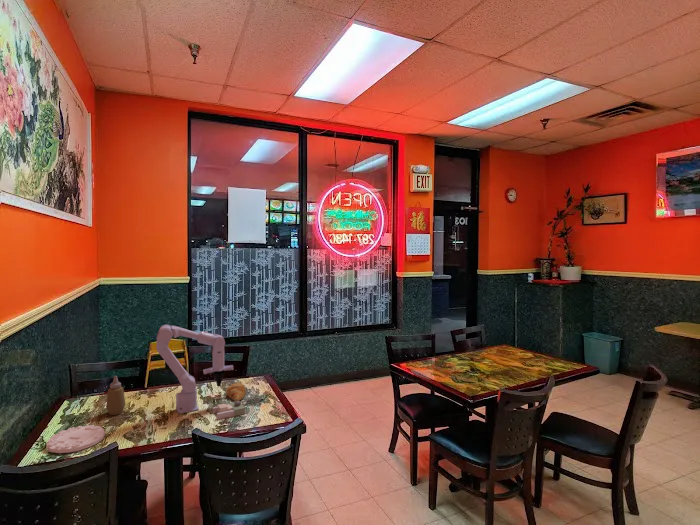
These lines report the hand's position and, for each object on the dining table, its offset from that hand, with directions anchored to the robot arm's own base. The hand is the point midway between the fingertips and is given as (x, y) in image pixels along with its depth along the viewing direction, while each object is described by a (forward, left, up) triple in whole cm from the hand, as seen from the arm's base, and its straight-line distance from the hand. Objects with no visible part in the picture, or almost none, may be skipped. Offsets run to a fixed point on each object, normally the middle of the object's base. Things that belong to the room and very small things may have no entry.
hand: (218, 385), depth 206 cm
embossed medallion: (-60, -9, -10) cm, 62 cm away
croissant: (+11, +8, -10) cm, 17 cm away
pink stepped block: (0, -12, -10) cm, 16 cm away
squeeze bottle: (-45, +15, -10) cm, 48 cm away
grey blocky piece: (+2, -13, -10) cm, 16 cm away
